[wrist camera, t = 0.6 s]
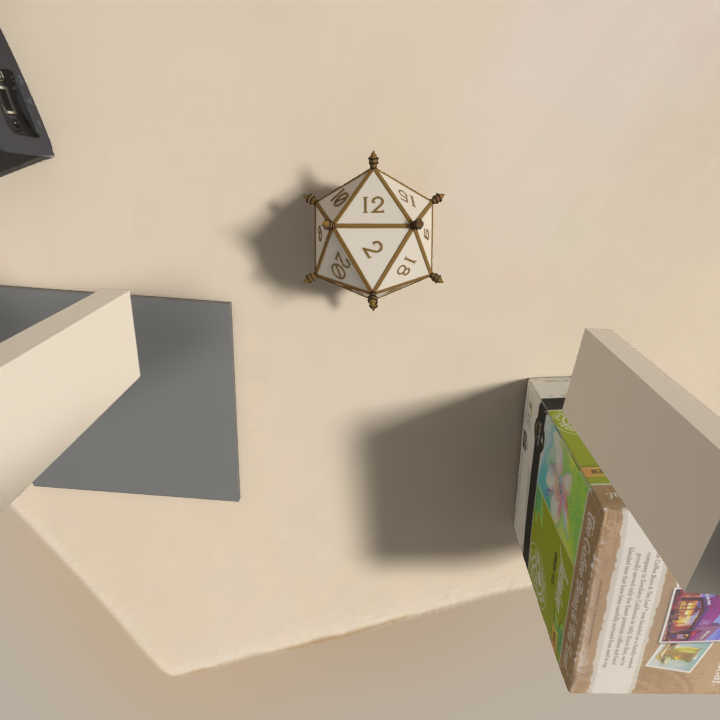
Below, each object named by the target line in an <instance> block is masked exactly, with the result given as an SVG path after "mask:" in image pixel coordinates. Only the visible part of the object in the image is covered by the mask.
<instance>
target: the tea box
mask: <svg viewBox="0 0 720 720" xmlns="http://www.w3.org/2000/svg"><path fill="white" fill-rule="evenodd" d="M570 380H571V377H551V378H530V379H529V381H528V386H527V394H526V401H525V409H524V422H523V431H522V440H521V454H520V465H519V472H518V487H517V496H516V506H515V520H514V529H515V532H516V535H517V538H518V542H519V545H520V548H521V551H522V553H523V557H524V560H525V563H526V566H527V569H528V572H529V575H530V578H531V581H532V585H533V587H534V590H535V593H536V596H537V599H538V603H539V607H540V610H541V613H542V616H543V619H544V621H545V624H546V627H547V630H548V633H549V636H550V640H551V643H552V646H553V649H554V653H555V656H556V659H557V661H558V664H559V667H560V670H561V673H562V676H563V678H564V681H565V684H566V686H567V689H568V691H569V692H570V693H655V694H663V693H664V694H671V693H673V694H675V693H677V694H720V595H713V594H701V593H689V592H684V591H683V590H682V588H681V587H680V585H679V584H678V582H677V581H676V579H675V578H674V576H673V575H672V573H671V572H670V570H669V569H668V567H667V566H666V565H665V563H664V562H663V560H662V559H661V557H660V556H659V554H658V553H657V551H656V550H655V548H654V547H653V545H652V544H651V542H650V541H649V539H648V538H647V536H646V535H645V533H644V532H643V530H642V529H641V528H640V526H639V525H638V523H637V522H636V520H635V519H634V517H633V516H632V514H631V513H630V511H629V510H628V508H627V507H626V505H625V504H624V502H623V501H622V499H621V498H620V496H619V495H618V493H617V492H616V490H615V489H614V488H613V486H612V485H611V483H610V482H609V480H608V479H607V477H606V476H605V474H604V473H603V471H602V470H601V468H600V467H599V465H598V464H597V462H596V461H595V459H594V458H593V456H592V455H591V453H590V452H589V450H588V449H587V448H586V446H585V445H584V443H583V442H582V440H581V439H580V437H579V436H578V434H577V433H576V431H575V430H574V428H573V427H572V425H571V424H570V422H569V421H568V419H567V418H566V416H565V415H564V413H563V412H562V409H563V405H564V401H565V398H566V394H567V391H568V387H569V384H570Z"/></svg>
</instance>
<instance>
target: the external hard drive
mask: <svg viewBox="0 0 720 720" xmlns="http://www.w3.org/2000/svg"><path fill="white" fill-rule="evenodd" d="M52 157H54V153H53V151H52V145H51V142H50V139H49V137H48V135H47V132H46V129H45V127H44V124H43V122H42V119H41V117H40V115H39V113H38V110H37V107H36V105H35V103H34V101H33V98H32V96H31V94H30V92H29V89H28V87H27V84H26V82H25V80H24V78H23V76H22V73H21V71H20V69H19V67H18V65H17V62H16V60H15V58H14V56H13V54H12V52H11V49H10V47H9V46H8V43H7V41H6V39H5V37H4V35H3V33H2V31H1V29H0V177H2V176H4V175H7V174H9V173H12V172H14V171H17V170H19V169H22V168H25V167H27V166H29V165H33V164H35V163H37V162H41V161H42V160H45V159H48V158H52Z"/></svg>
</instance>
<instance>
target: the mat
mask: <svg viewBox="0 0 720 720" xmlns="http://www.w3.org/2000/svg"><path fill="white" fill-rule="evenodd" d="M93 293H95V292H86V291H72V290H58V289H45V288H31V287H18V286H4V285H0V343H1V342H3V341H5V340H7V339H9V338H11V337H12V336H14V335H16V334H18V333H20V332H22V331H24V330H26V329H28V328H29V327H31V326H33V325H35V324H37V323H39V322H41V321H43V320H44V319H46V318H48V317H50V316H52V315H54V314H56V313H58V312H60V311H61V310H63V309H65V308H67V307H69V306H71V305H73V304H75V303H76V302H78V301H80V300H82V299H84V298H86V297H88V296H90V295H91V294H93ZM130 298H131V306H132V314H133V322H134V330H135V338H136V346H137V354H138V362H139V370H140V377H139V378H138V379H137V380H136V381H135V382H134V383H133V384H132V385H131V386H130V387H129V388H128V389H127V390H126V391H125V392H124V393H123V394H122V395H121V396H120V397H119V398H118V399H117V400H116V401H115V402H114V403H113V404H112V405H111V406H110V407H109V408H108V409H107V410H106V411H105V412H104V413H103V414H102V415H100V416H99V417H98V418H97V419H96V420H95V421H94V422H93V423H92V424H91V425H90V426H89V427H88V428H87V429H86V430H85V431H84V432H83V433H82V434H81V435H80V436H79V437H78V438H77V439H76V440H75V441H74V442H73V443H72V444H71V445H70V446H69V447H68V448H67V449H66V450H65V451H64V452H63V453H62V454H61V455H60V456H59V457H58V458H57V459H56V460H55V461H54V462H53V463H52V464H51V465H50V466H49V467H48V468H47V469H46V470H44V471H43V472H42V473H41V474H40V475H39V476H38V477H37V478H36V479H35V480H34V481H33V484H34V486H41V487H54V488H67V489H80V490H93V491H106V492H119V493H132V494H145V495H158V496H171V497H184V498H197V499H210V500H223V501H237V502H239V500H240V482H239V460H238V438H237V416H236V394H235V373H234V351H233V329H232V307H231V302H222V301H208V300H194V299H181V298H167V297H154V296H140V295H130Z"/></svg>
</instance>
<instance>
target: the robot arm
mask: <svg viewBox="0 0 720 720" xmlns="http://www.w3.org/2000/svg"><path fill="white" fill-rule="evenodd" d="M139 377H140V370H139V362H138V354H137V346H136V338H135V330H134V322H133V314H132V306H131V298H130V291H129V290H117V289H104V288H103V289H101V290H99V291H97V292H95V293H93V294H91V295H90V296H88V297H86V298H84V299H82V300H80V301H78V302H76V303H75V304H73V305H71V306H69V307H67V308H65V309H63V310H61V311H60V312H58V313H56V314H54V315H52V316H50V317H48V318H46V319H44V320H43V321H41V322H39V323H37V324H35V325H33V326H31V327H29V328H28V329H26V330H24V331H22V332H20V333H18V334H16V335H14V336H12V337H11V338H9V339H7V340H5V341H3V342H1V343H0V514H1V513H2V512H3V511H4V510H5V509H6V508H7V507H8V506H9V505H10V504H11V503H12V502H13V501H14V500H15V499H16V498H17V497H18V496H19V495H20V494H21V493H22V492H23V491H24V490H25V489H26V488H27V487H28V486H29V485H30V484H31V483H32V482H33V481H34V480H35V479H36V478H37V477H38V476H39V475H40V474H41V473H42V472H43V471H44V470H46V469H47V468H48V467H49V466H50V465H51V464H52V463H53V462H54V461H55V460H56V459H57V458H58V457H59V456H60V455H61V454H62V453H63V452H64V451H65V450H66V449H67V448H68V447H69V446H70V445H71V444H72V443H73V442H74V441H75V440H76V439H77V438H78V437H79V436H80V435H81V434H82V433H83V432H84V431H85V430H86V429H87V428H88V427H89V426H90V425H91V424H92V423H93V422H94V421H95V420H96V419H97V418H98V417H99V416H100V415H102V414H103V413H104V412H105V411H106V410H107V409H108V408H109V407H110V406H111V405H112V404H113V403H114V402H115V401H116V400H117V399H118V398H119V397H120V396H121V395H122V394H123V393H124V392H125V391H126V390H127V389H128V388H129V387H130V386H131V385H132V384H133V383H134V382H135V381H136V380H137V379H138V378H139ZM562 412H563V413H564V415H565V416H566V418H567V419H568V421H569V422H570V424H571V425H572V427H573V428H574V430H575V431H576V433H577V434H578V436H579V437H580V439H581V440H582V442H583V443H584V445H585V446H586V448H587V449H588V450H589V452H590V453H591V455H592V456H593V458H594V459H595V461H596V462H597V464H598V465H599V467H600V468H601V470H602V471H603V473H604V474H605V476H606V477H607V479H608V480H609V482H610V483H611V485H612V486H613V488H614V489H615V490H616V492H617V493H618V495H619V496H620V498H621V499H622V501H623V502H624V504H625V505H626V507H627V508H628V510H629V511H630V513H631V514H632V516H633V517H634V519H635V520H636V522H637V523H638V525H639V526H640V528H641V529H642V530H643V532H644V533H645V535H646V536H647V538H648V539H649V541H650V542H651V544H652V545H653V547H654V548H655V550H656V551H657V553H658V554H659V556H660V557H661V559H662V560H663V562H664V563H665V565H666V566H667V567H668V569H669V570H670V572H671V573H672V575H673V576H674V578H675V579H676V581H677V582H678V584H679V585H680V587H681V588H682V590H683V591H684V592H689V593H701V594H713V595H720V417H719V416H717V415H716V414H715V413H714V412H713V411H711V410H710V409H709V408H708V407H706V406H705V405H704V404H703V403H701V402H700V401H699V400H698V399H696V398H695V397H694V396H693V395H692V394H690V393H689V392H688V391H687V390H685V389H684V388H683V387H682V386H680V385H679V384H678V383H677V382H676V381H674V380H673V379H672V378H671V377H669V376H668V375H667V374H666V373H664V372H663V371H662V370H661V369H660V368H658V367H657V366H656V365H655V364H653V363H652V362H651V361H650V360H648V359H647V358H646V357H645V356H644V355H642V354H641V353H640V352H639V351H637V350H636V349H635V348H634V347H632V346H631V345H630V344H629V343H628V342H626V341H625V340H624V339H623V338H621V337H620V336H619V335H618V334H616V333H615V332H614V331H613V330H607V329H595V328H585V331H584V334H583V338H582V341H581V345H580V348H579V352H578V355H577V359H576V362H575V366H574V370H573V373H572V377H571V380H570V384H569V387H568V391H567V394H566V398H565V401H564V405H563V409H562Z"/></svg>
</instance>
